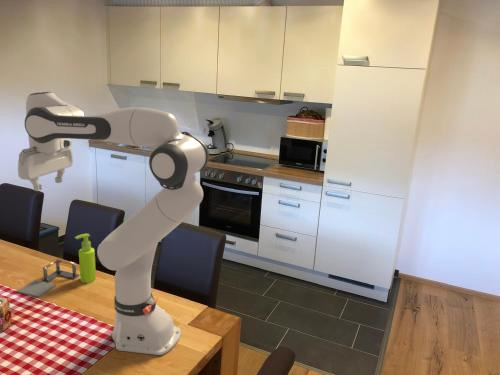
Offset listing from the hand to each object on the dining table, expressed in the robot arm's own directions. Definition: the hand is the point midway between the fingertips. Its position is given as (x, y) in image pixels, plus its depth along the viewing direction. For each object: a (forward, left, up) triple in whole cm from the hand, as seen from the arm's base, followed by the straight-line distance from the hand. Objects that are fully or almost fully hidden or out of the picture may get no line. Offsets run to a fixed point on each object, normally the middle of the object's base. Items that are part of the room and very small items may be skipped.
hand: (48, 186), depth 135 cm
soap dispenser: (+5, -22, -47) cm, 52 cm away
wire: (+15, -18, -47) cm, 52 cm away
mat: (+18, -9, -47) cm, 51 cm away
